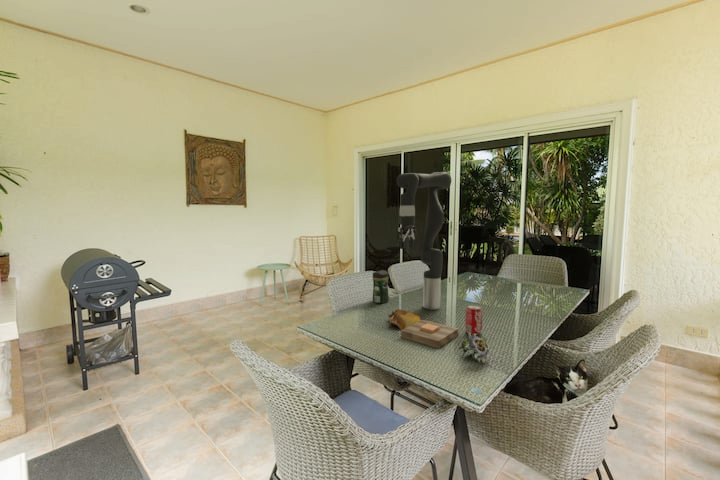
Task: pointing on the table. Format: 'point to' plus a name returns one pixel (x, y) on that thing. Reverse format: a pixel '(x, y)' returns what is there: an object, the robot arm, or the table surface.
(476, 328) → the soda can
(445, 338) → the button plate
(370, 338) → the table surface
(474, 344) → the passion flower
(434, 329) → the push button
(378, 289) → the coffee jar
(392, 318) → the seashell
